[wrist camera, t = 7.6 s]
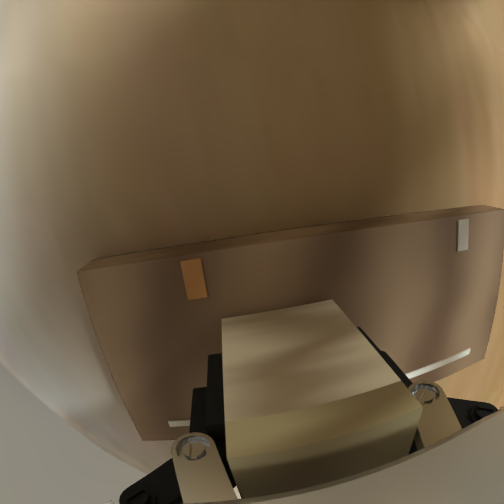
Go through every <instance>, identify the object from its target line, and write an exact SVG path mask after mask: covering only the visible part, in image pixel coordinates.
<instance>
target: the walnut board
mask: <svg viewBox="0 0 504 504" xmlns="http://www.w3.org/2000/svg"><path fill="white" fill-rule="evenodd" d="M503 249H504V209H500V208H496V207H491V206H486V205H478V206H469V207H461V208H452V209H443V210H435V211H427V212H418V213H410V214H402V215H394V216H386V217H378V218H370V219H363V220H355V221H347V222H340V223H332V224H325V225H318V226H310V227H303V228H296V229H289V230H282V231H275V232H268V233H261V234H254V235H247V236H240V237H233V238H227V239H220V240H213V241H207V242H200V243H194V244H187V245H181V246H174V247H168V248H161V249H155V250H149V251H143V252H136V253H130V254H124V255H118V256H112V257H106V258H100V259H94V260H93V261H91V262H90V263H88V264H87V265H86V266H84V267H83V268H82V269H80V270H79V271H78V272H77V274H78V278H79V281H80V285H81V289H82V292H83V296H84V299H85V302H86V305H87V309H88V312H89V315H90V318H91V321H92V324H93V327H94V330H95V333H96V336H97V338H98V341H99V344H100V347H101V349H102V352H103V355H104V357H105V360H106V362H107V365H108V367H109V370H110V372H111V375H112V377H113V379H114V382H115V384H116V386H117V389H118V391H119V393H120V395H121V398H122V400H123V402H124V404H125V406H126V408H127V410H128V413H129V415H130V417H131V419H132V421H133V423H134V425H135V427H136V429H137V431H138V432H139V434H140V436H141V438H142V440H176V439H177V438H179V437H181V436H182V435H185V434H188V433H189V429H190V417H191V405H192V394H193V389H194V388H200V387H207V368H208V355H211V354H218V353H222V320H221V319H223V318H230V317H236V316H243V315H249V314H255V313H261V312H267V311H273V310H278V309H284V308H290V307H295V306H301V305H306V304H311V303H316V302H321V301H326V300H331V299H332V300H333V301H334V302H335V303H336V304H337V305H338V306H339V308H340V309H341V310H342V311H343V312H344V313H345V315H346V316H347V317H348V318H349V319H350V320H351V322H352V323H353V324H354V325H355V326H356V327H360V328H361V329H362V330H363V331H364V332H365V333H366V334H367V335H368V337H369V338H370V339H371V340H372V341H373V342H374V343H375V345H376V346H377V347H378V348H379V349H380V350H381V351H385V352H386V353H387V354H388V355H389V356H390V357H391V359H392V360H393V361H394V362H395V363H396V364H397V365H398V367H399V368H400V369H401V370H402V371H403V372H404V374H405V375H406V376H407V377H408V378H409V379H410V380H411V382H412V383H416V382H419V381H431V382H435V381H437V380H440V379H442V378H444V377H447V376H449V375H451V374H453V373H455V372H458V371H460V370H462V369H464V368H466V367H468V366H470V365H472V364H474V363H476V362H478V361H480V360H482V359H484V357H485V353H486V349H487V345H488V341H489V337H490V333H491V328H492V324H493V319H494V314H495V309H496V303H497V298H498V291H499V285H500V277H501V269H502V260H503Z"/></svg>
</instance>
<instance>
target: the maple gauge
mask: <svg viewBox="0 0 504 504" xmlns="http://www.w3.org/2000/svg"><path fill="white" fill-rule="evenodd" d="M221 320H222V360H223V390H224V414H225V435H226V453H227V460H228V463H229V466H230V469H231V472H232V474H233V477H234V480H235V483H236V485H237V488H238V491H239V493H240V496H241V498H242V499H245V498H253V497H260V496H266V495H272V494H278V493H284V492H289V491H294V490H298V489H303V488H307V487H312V486H316V485H320V484H324V483H328V482H331V481H335V480H339V479H342V478H345V477H349V476H352V475H355V474H358V473H361V472H364V471H367V470H370V469H373V468H376V467H379V466H381V465H384V464H387V463H389V462H392V461H395V460H397V459H400V458H402V457H404V456H407V455H408V454H409V451H410V448H411V445H412V442H413V439H414V436H415V433H416V430H417V427H418V424H419V420H420V417H421V413H422V410H423V407H422V405H421V404H420V403H419V402H418V400H417V399H416V398H415V397H414V395H413V394H412V393H411V392H410V391H409V389H408V388H407V387H406V386H405V384H404V383H403V382H402V381H401V380H400V378H399V377H398V376H397V375H396V374H395V372H394V371H393V370H392V369H391V368H390V366H389V365H388V364H387V363H386V362H385V360H384V359H383V358H382V357H381V356H380V354H379V353H378V352H377V351H376V350H375V349H374V347H373V346H372V345H371V344H370V343H369V341H368V340H367V339H366V338H365V337H364V336H363V334H362V333H361V332H360V331H359V330H358V329H357V327H356V326H355V325H354V324H353V323H352V322H351V320H350V319H349V318H348V317H347V316H346V315H345V313H344V312H343V311H342V310H341V309H340V308H339V306H338V305H337V304H336V303H335V302H334V301H333V300H332V299H331V300H326V301H321V302H316V303H311V304H306V305H301V306H295V307H290V308H284V309H278V310H273V311H267V312H261V313H255V314H249V315H243V316H236V317H230V318H223V319H221Z"/></svg>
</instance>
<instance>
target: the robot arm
mask: <svg viewBox="0 0 504 504" xmlns="http://www.w3.org/2000/svg"><path fill="white" fill-rule="evenodd" d="M357 329H358V330H359V331H360V332H361V333H362V334H363V336H364V337H365V338H366V339H367V340H368V341H369V343H370V344H371V345H372V346H373V347H374V349H375V350H376V351H377V352H378V353H379V354H380V356H381V357H382V358H383V359H384V360H385V362H386V363H387V364H388V365H389V366H390V368H391V369H392V370H393V371H394V372H395V374H396V375H397V376H398V377H399V378H400V380H401V381H402V382H403V383H404V384H405V386H406V387H407V388H408V389H409V391H410V392H411V393H412V394H413V395H414V397H415V398H416V399H417V400H418V402H419V403H420V404H421V405H422V407H423V410H422V413H421V417H420V420H419V424H418V427H417V430H416V433H415V436H414V439H413V442H412V445H411V448H410V451H409V454H408V455H407V456H404V457H402V458H400V459H397V460H395V461H392V462H389V463H387V464H384V465H381V466H379V467H376V468H373V469H370V470H367V471H364V472H361V473H358V474H355V475H352V476H349V477H345V478H342V479H339V480H335V481H331V482H328V483H324V484H320V485H316V486H312V487H307V488H303V489H298V490H294V491H289V492H284V493H278V494H272V495H266V496H260V497H253V498H245V499H237V496H236V494H235V492H234V489H233V488H234V487H235V486H236V483H235V480H234V477H233V474H232V472H231V469H230V466H229V463H228V460H227V453H226V435H225V414H224V390H223V360H222V353H218V354H211V355H208V368H207V387H200V388H194V389H193V394H192V405H191V417H190V429H189V433H188V434H185V435H182V436H181V437H179V438H177V439H176V441H175V442H174V443H173V445H172V447H171V454H172V458H171V459H170V460H168V461H167V462H166V463H164V464H163V465H161V466H160V467H158V468H157V469H155V470H154V471H152V472H151V473H150V474H148V475H147V476H145V477H144V478H142V479H140V480H139V481H137V482H136V483H134V484H133V485H131V486H130V487H128V488H127V489H126V490H124V491H123V493H122V494H121V496H120V499H119V500H118V501H116V502H112V501H108V502H106V503H104V504H504V407H500V409H499V410H498V409H497V408H496V407H495V406H493V405H492V404H489V403H485V402H477V401H469V400H462V399H455V398H448V397H446V395H445V393H444V391H443V389H442V388H441V387H440V386H439V385H438V384H436V383H434V382H431V381H419V382H416V383H412V382H411V380H410V379H409V378H408V377H407V376H406V375H405V374H404V372H403V371H402V370H401V369H400V368H399V367H398V365H397V364H396V363H395V362H394V361H393V360H392V359H391V357H390V356H389V355H388V354H387V353H386V352H385V351H381V350H380V349H379V348H378V347H377V346H376V345H375V343H374V342H373V341H372V340H371V339H370V338H369V337H368V335H367V334H366V333H365V332H364V331H363V330H362V329H361V328H360V327H357Z"/></svg>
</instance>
